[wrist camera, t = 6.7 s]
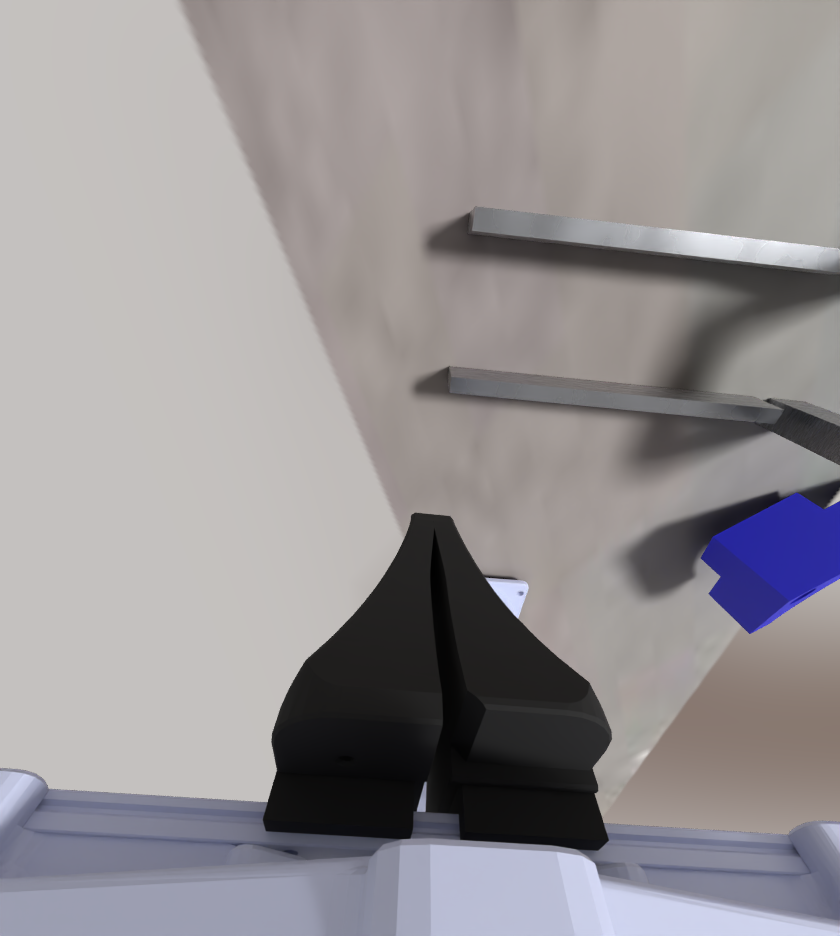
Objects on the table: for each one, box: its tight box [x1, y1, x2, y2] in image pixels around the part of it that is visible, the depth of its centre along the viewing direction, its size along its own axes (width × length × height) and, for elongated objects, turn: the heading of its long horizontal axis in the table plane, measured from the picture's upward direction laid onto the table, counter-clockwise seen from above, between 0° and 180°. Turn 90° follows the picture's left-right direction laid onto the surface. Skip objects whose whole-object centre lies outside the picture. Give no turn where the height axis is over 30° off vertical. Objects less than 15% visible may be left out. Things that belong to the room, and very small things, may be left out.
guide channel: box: [447, 207, 840, 424], centre depth 17 cm, size 8×17×2 cm, turn 84°
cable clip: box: [701, 493, 840, 634], centre depth 23 cm, size 12×4×6 cm
